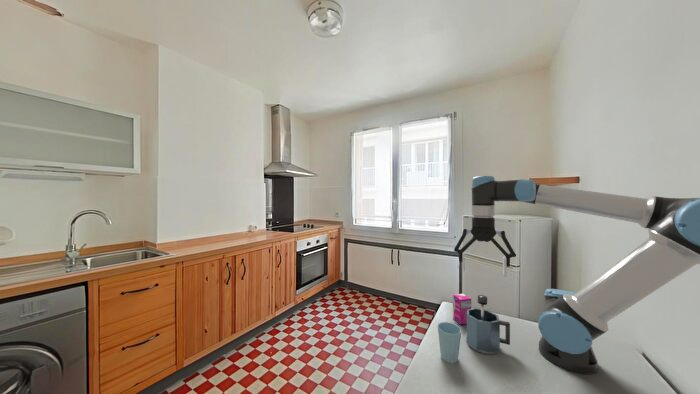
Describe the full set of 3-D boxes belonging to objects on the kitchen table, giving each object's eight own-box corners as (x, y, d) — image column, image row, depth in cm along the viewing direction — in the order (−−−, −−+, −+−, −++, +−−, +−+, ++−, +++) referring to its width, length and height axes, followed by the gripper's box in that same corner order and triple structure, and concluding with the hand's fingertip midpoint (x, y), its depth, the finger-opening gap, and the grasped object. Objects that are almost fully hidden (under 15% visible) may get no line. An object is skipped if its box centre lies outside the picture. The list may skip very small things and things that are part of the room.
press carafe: (507, 343, 89) (507, 313, 90) (512, 361, 80) (512, 327, 80) (466, 334, 95) (466, 306, 96) (466, 349, 86) (466, 318, 86)
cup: (466, 361, 79) (466, 330, 80) (450, 368, 76) (449, 336, 76) (448, 348, 86) (448, 320, 86) (433, 354, 83) (432, 324, 83)
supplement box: (452, 318, 108) (452, 294, 108) (463, 317, 109) (463, 293, 109) (460, 325, 102) (460, 299, 102) (472, 324, 103) (472, 298, 104)
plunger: (494, 336, 90) (494, 294, 90) (496, 348, 83) (496, 303, 83) (469, 330, 94) (469, 290, 94) (470, 341, 86) (470, 298, 87)
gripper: (520, 217, 87) (521, 274, 86) (448, 215, 98) (448, 266, 97) (525, 218, 80) (526, 280, 80) (447, 216, 91) (447, 271, 90)
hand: (483, 272), depth 88 cm, fingers open, 13 cm apart
